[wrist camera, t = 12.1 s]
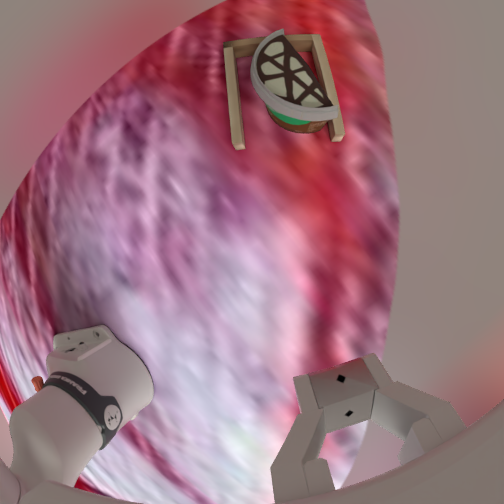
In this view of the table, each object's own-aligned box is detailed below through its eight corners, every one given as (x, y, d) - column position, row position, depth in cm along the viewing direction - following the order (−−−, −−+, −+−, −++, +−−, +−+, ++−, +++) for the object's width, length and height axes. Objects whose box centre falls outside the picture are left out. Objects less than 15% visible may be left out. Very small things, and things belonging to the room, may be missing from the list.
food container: (241, 84, 32) (228, 43, 22) (281, 68, 31) (280, 25, 21) (282, 158, 32) (283, 132, 23) (325, 140, 32) (341, 109, 22)
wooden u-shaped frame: (236, 150, 33) (232, 143, 30) (227, 53, 31) (223, 42, 29) (340, 141, 31) (345, 134, 28) (317, 45, 30) (319, 34, 27)
